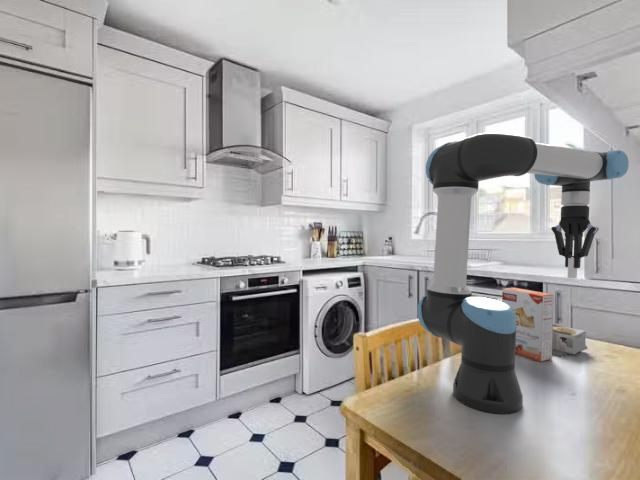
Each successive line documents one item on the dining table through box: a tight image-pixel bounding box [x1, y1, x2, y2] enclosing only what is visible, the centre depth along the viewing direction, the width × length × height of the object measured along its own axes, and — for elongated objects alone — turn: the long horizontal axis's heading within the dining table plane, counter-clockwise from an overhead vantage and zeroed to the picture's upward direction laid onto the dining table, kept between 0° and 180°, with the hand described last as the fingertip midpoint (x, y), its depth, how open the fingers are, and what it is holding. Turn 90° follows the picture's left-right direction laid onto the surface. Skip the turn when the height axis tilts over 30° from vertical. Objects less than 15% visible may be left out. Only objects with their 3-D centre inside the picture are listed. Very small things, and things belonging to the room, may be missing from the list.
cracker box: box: [501, 287, 554, 363], centre depth 116 cm, size 14×6×21 cm, turn 25°
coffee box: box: [552, 324, 587, 355], centre depth 123 cm, size 9×6×16 cm
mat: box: [552, 345, 588, 358], centre depth 124 cm, size 18×14×1 cm
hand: (572, 277), depth 116 cm, fingers closed
